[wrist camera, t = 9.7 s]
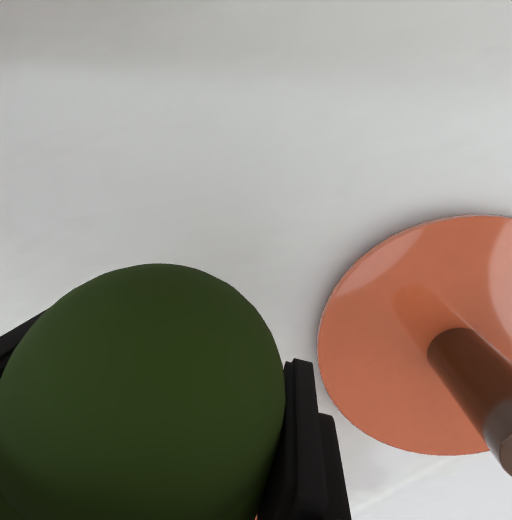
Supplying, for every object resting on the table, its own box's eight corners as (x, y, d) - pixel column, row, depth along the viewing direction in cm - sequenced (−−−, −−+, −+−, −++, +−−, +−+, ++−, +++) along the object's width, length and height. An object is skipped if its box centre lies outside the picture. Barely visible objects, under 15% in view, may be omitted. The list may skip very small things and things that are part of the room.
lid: (359, 183, 15) (418, 199, 8) (652, 248, 15) (962, 321, 8) (289, 407, 20) (291, 535, 13) (512, 462, 19) (633, 623, 13)
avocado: (113, 217, 9) (-176, 302, 3) (308, 263, 9) (340, 434, 3) (100, 420, 12) (-80, 663, 6) (253, 459, 11) (216, 752, 6)
